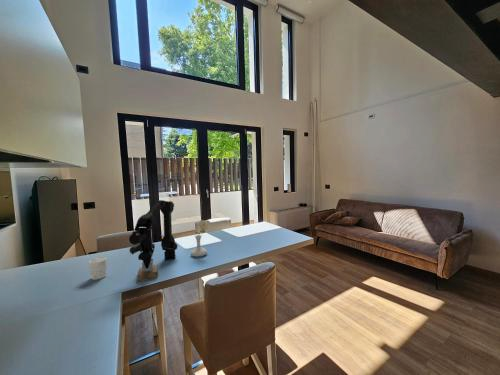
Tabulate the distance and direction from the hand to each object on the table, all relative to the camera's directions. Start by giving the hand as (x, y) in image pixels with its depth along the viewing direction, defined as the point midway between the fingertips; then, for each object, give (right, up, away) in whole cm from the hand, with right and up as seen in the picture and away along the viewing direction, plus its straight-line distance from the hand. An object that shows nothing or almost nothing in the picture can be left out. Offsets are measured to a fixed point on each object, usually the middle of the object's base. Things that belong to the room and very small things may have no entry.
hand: (147, 265), depth 120 cm
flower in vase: (+23, -4, +30) cm, 38 cm away
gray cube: (0, -2, 0) cm, 2 cm away
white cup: (-28, -7, 0) cm, 29 cm away
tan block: (0, -6, 0) cm, 6 cm away
